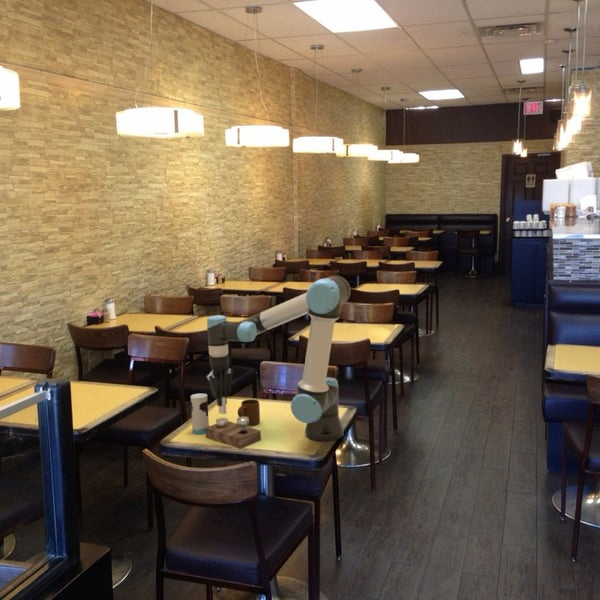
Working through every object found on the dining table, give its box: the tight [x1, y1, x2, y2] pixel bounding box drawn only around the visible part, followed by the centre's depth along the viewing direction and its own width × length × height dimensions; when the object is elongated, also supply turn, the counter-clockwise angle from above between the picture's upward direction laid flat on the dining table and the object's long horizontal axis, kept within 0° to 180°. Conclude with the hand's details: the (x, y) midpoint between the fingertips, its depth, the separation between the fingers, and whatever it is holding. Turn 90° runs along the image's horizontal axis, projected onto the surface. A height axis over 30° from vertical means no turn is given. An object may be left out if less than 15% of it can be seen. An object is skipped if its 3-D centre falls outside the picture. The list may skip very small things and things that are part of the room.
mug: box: [237, 399, 261, 427], centre depth 278 cm, size 12×8×9 cm, turn 147°
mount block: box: [205, 420, 262, 450], centre depth 263 cm, size 20×11×4 cm, turn 49°
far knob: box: [215, 417, 229, 428], centre depth 266 cm, size 5×5×6 cm
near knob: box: [236, 416, 249, 434], centre depth 258 cm, size 5×5×6 cm
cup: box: [190, 393, 210, 435], centre depth 271 cm, size 7×7×15 cm
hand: (222, 413), depth 265 cm, fingers closed
